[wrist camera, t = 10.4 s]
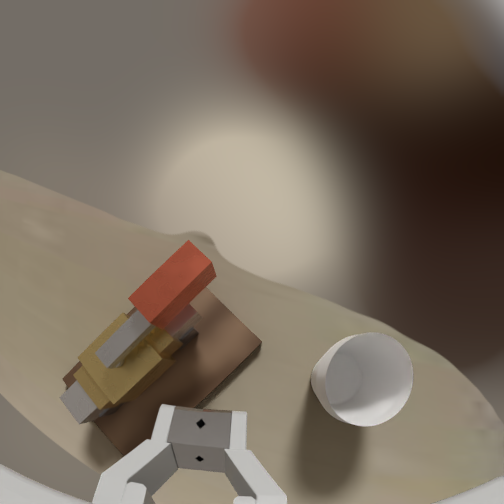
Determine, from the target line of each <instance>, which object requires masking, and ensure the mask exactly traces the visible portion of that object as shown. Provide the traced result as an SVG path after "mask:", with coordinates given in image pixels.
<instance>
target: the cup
mask: <svg viewBox="0 0 504 504" xmlns="http://www.w3.org/2000/svg"><path fill="white" fill-rule="evenodd" d="M311 385H312V388H313V391H314V393H315V394H316V396H317V398H318V399H319V401H320V403H321V404H322V406H323V407H324V409H325V410H326V411H327V412H328V413H329V414H330V415H332V416H333V417H334V418H336V419H338V420H340V421H342V422H345V423H349V424H353V425H357V426H374V425H378V424H381V423H383V422H385V421H387V420H389V419H391V418H392V417H393V416H395V415H396V414H397V413H398V412H399V411H400V410H401V409H402V407H403V406H404V405H405V403H406V401H407V399H408V397H409V395H410V393H411V389H412V385H413V366H412V362H411V359H410V357H409V355H408V353H407V351H406V350H405V348H404V347H403V346H402V345H401V344H400V343H399V342H398V341H397V340H395V339H394V338H392V337H390V336H388V335H385V334H382V333H375V332H371V333H364V334H358V335H352V336H349V337H346V338H344V339H342V340H340V341H339V342H337V343H336V344H334V345H333V346H332V347H331V348H330V349H329V350H328V351H327V352H326V353H325V354H324V355H323V356H322V358H321V359H320V360H319V361H318V362H317V363H316V365H315V366H314V368H313V371H312V374H311Z"/></svg>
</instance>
